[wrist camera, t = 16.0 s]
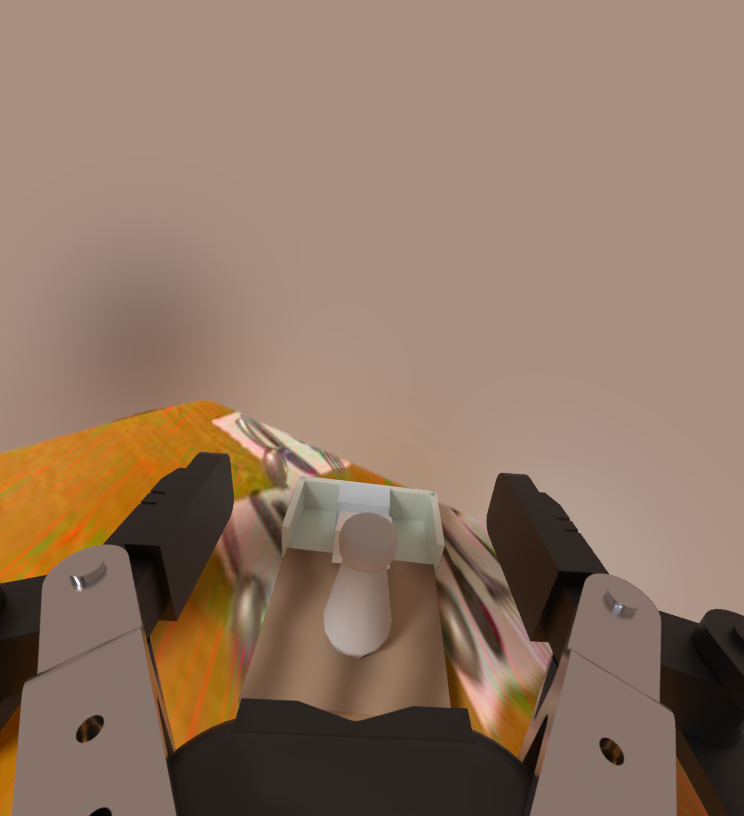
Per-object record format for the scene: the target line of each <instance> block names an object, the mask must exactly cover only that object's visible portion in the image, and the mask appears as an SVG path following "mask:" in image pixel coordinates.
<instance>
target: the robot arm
mask: <svg viewBox="0 0 744 816" xmlns="http://www.w3.org/2000/svg"><path fill="white" fill-rule="evenodd" d="M233 503H234V494H233V484H232V474H231V464H230V458H229V455H228V454H223V453H208V452H200V453H198V454H197V455H196V457H195V458H194V459H193V460H192V462H191V463H190V464H189V465H188V466H187V468H178V469H176V470H175V471H173V472H171V473H170V474H168V475H166V476H165V477H163V478H162V479H161V480H160V481H159V482H158V483H157V484H156V485H155V486H154V488H153V489H152V490H151V492H150V494H147V496H146V497H145V498H144V499H143V500H142V501H141V504H140V505H138V506H137V507H136V508H135V509H134V510H133V511H132V512H131V514H130V515H129V516H128V517H127V518H126V519H125V520H124V521H123V523H122V524H121V525H120V526H119V527H118V528H117V529H116V530H115V532H114V533H113V534H112V535H111V536H110V537H109V538H108V539H107V541H106V542H105V543H104V544H103V545H99V546H93V547H90V548H86V549H84V550H81V551H79V552H76V553H74V554H72V555H71V556H69V557H67V558H65V559H64V560H63V561H61V562H60V563H58V564H57V565H56V566H55V567H54V568H53V569H52V570H51V571H50V572H49V573H48V575H44V576H39V577H33V578H28V579H23V580H17V581H12V582H7V583H1V584H0V731H1V729H2V728H3V726H4V725H5V724H6V722H7V721H8V719H9V718H10V717H11V715H12V714H13V712H14V711H15V709H16V708H17V707H18V705H19V704H20V702H21V711H20V724H19V736H18V748H17V760H16V772H15V784H14V796H13V808H12V816H677V798H676V756H677V758H678V760H679V761H680V763H681V765H682V767H683V769H684V771H685V772H686V774H687V776H688V778H689V780H690V782H691V783H692V785H693V787H694V789H695V791H696V793H697V794H698V796H699V798H700V800H701V802H702V804H703V805H704V807H705V809H706V811H707V813H708V815H709V816H744V616H742V615H740V614H737V613H735V612H731V611H728V610H722V609H714V610H710V611H708V612H707V613H706V614H705V616H704V617H703V618H702V620H701V622H700V623H696V622H693V621H690V620H687V619H684V618H680V617H677V616H674V615H671V614H668V613H665V612H662V611H658V610H657V608H656V606H655V605H654V603H653V602H652V601H651V600H650V599H649V598H648V597H647V596H646V595H645V594H644V593H643V592H642V591H641V590H639V589H638V588H637V587H635V586H633V585H632V584H631V583H629V582H627V581H625V580H623V579H621V578H618V577H615V576H612V575H609V573H608V572H607V571H606V569H605V567H604V566H603V565H602V563H601V562H600V560H599V559H598V558H597V556H596V555H595V553H594V552H593V551H592V549H591V548H590V546H589V545H588V544H587V542H586V541H585V539H584V538H583V537H582V535H581V534H580V533H578V529H577V528H576V527H575V525H574V524H573V522H572V521H570V518H569V517H568V515H567V514H566V513H565V511H564V510H563V508H562V507H561V506H560V504H558V503H557V502H556V501H555V500H553V499H552V498H551V497H549V496H548V495H547V494H546V493H542V492H541V493H540V492H539V491H538V490H537V488H536V487H535V485H534V484H533V482H532V480H531V479H530V478H529V476H528V475H525V474H510V473H500V474H499V475H498V477H497V479H496V483H495V487H494V490H493V494H492V498H491V502H490V505H489V509H488V513H487V531H488V535H489V537H490V540H491V542H492V545H493V547H494V550H495V552H496V555H497V558H498V560H499V563H500V565H501V568H502V570H503V573H504V575H505V578H506V580H507V583H508V586H509V588H510V591H511V593H512V596H513V598H514V601H515V603H516V606H517V608H518V611H519V613H520V616H521V619H522V621H523V624H524V626H525V629H526V631H527V634H528V636H529V639H530V641H536V642H549V644H550V647H551V649H552V651H553V653H552V655H551V657H550V659H549V662H548V665H547V669H546V672H545V675H544V679H543V682H542V685H541V689H540V692H539V695H538V699H537V702H536V705H535V709H534V712H533V715H532V718H531V722H530V725H529V728H528V731H527V734H526V737H525V740H524V742H523V745H522V747H521V750H520V753H519V755H518V758H517V757H516V756H514V755H513V754H512V753H511V752H510V751H508V750H507V749H506V748H504V747H503V746H501V745H500V744H499V743H497V742H496V741H494V740H493V739H491V738H489V737H487V736H485V735H483V734H481V733H479V732H477V731H474V730H472V728H471V723H470V718H469V713H468V709H466V708H445V707H423V706H411V707H407V708H404V709H400V710H397V711H393V712H389V713H386V714H382V715H378V716H375V717H371V718H367V719H364V720H359V721H352V720H349V719H346V718H343V717H340V716H338V715H335V714H332V713H330V712H327V711H324V710H322V709H319V708H316V707H314V706H311V705H308V704H306V703H303V702H300V701H294V700H272V699H251V698H242V699H241V702H240V706H239V709H238V713H237V716H236V719H232V720H229V721H226V722H223V723H221V724H218V725H216V726H213V727H211V728H209V729H207V730H206V731H204V732H202V733H200V734H198V735H197V736H195V737H194V738H192V739H191V740H189V741H188V742H186V743H185V744H183V745H182V746H181V747H179V748H178V749H177V750H176V748H175V744H174V740H173V736H172V732H171V728H170V723H169V719H168V715H167V710H166V706H165V701H164V696H163V691H162V687H161V682H160V677H159V672H158V668H157V663H156V658H155V654H154V649H153V644H152V640H151V636H150V634H151V633H152V631H153V629H154V627H155V626H156V624H157V622H158V620H167V621H177V619H178V617H179V615H180V613H181V611H182V610H183V608H184V606H185V604H186V602H187V600H188V598H189V596H190V594H191V592H192V590H193V588H194V586H195V584H196V582H197V580H198V579H199V577H200V575H201V573H202V571H203V569H204V567H205V565H206V563H207V561H208V559H209V557H210V555H211V553H212V551H213V549H214V548H215V546H216V544H217V542H218V540H219V538H220V536H221V534H222V532H223V530H224V528H225V526H226V524H227V522H228V520H229V518H230V516H231V513H232V509H233Z"/></svg>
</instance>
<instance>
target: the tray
mask: <svg viewBox="0 0 744 816" xmlns="http://www.w3.org/2000/svg"><path fill="white" fill-rule="evenodd" d="M341 482H348V483H357V484H366V485H374V486H383V487H390V509H389V515H388V516H391V518H392V524H393V525H394V526H395V528H396V532H397V535H398V546H397V549H396V553H395V557H394V560H397V561H406V562H414V563H423V564H432V565H434V569H435V577H436V575H437V571H438V568H439V564H440V561H441V557H442V554H443V550H444V547H445V543H444V536H443V530H442V524H441V517H440V511H439V505H438V498H437V493H435V491H426V490H418V489H410V488H401V487H393V486H384V485H376V484H367V483H359V482H350V481H342V480H334V479H325V478H317V477H308V476H301V477H299V479H298V482H297V485H296V488H295V490H294V493H293V496H292V499H291V502H290V504H289V507H288V510H287V513H286V515H285V518H284V521H283V524H282V559H284V556H285V553H286V550H287V548H295V549H303V550H312V551H320V552H329V553H333V546H334V537H335V526H336V513H337V501H338V496H339V491H340V485H341Z"/></svg>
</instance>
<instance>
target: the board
mask: <svg viewBox="0 0 744 816" xmlns="http://www.w3.org/2000/svg"><path fill="white" fill-rule="evenodd" d="M332 555H333V553H329V552H320V551H312V550H303V549H295V548H287V550H286V553H285V556H284V559H283V562H282V565H281V569H280V572H279V575H278V578H277V581H276V584H275V587H274V590H273V594H272V597H271V600H270V603H269V606H268V609H267V612H266V616H265V619H264V622H263V625H262V628H261V631H260V634H259V637H258V641H257V644H256V647H255V650H254V653H253V656H252V659H251V662H250V666H249V669H248V672H247V675H246V678H245V681H244V684H243V688H242V691H241V694H240V697H239V706H240V702H241V699H242V698H251V699H272V700H294V701H300V702H303V703H306V704H308V705H311V706H314V707H316V708H319V709H322V710H324V711H327V712H330V713H332V714H335V715H338V716H340V717H343V718H346V719H349V720H352V721H359V720H364V719H367V718H371V717H375V716H378V715H382V714H386V713H389V712H393V711H397V710H400V709H404V708H407V707H411V706H423V707H445V708H451V705H450V697H449V688H448V680H447V671H446V663H445V654H444V646H443V637H442V629H441V620H440V612H439V603H438V595H437V586H436V578H435V569H434V565H432V564H423V563H414V562H406V561H397V560H393V561H392V562H391V563H390V569H387V577H388V587H389V597H390V608H391V618H392V623H391V627H390V631H389V636H388V638H387V640H386V641H385V642H384V643H383V644H382V645H381V646H380V647H379V648H378V650H377V651H375V652H372V653H370V654H367V655H364V656H363V657H361V658H360V659H355V658H352V657H350V656H347V655H344V654H342V653H339V652H337V651H336V649H335V648H334V647H333V645H332V644H331V642H330V640H329V638H328V637H327V635H326V633H325V629H324V614H323V613H324V610H325V607H326V604H327V601H328V599H329V596H330V593H331V590H332V587H333V585H334V582H335V579H336V576H337V573H338V571H339V568H340V565H341V564H340V563H332Z"/></svg>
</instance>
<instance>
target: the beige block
mask: <svg viewBox="0 0 744 816" xmlns="http://www.w3.org/2000/svg"><path fill="white" fill-rule="evenodd" d="M356 514H360V513H356V512H347V511H340V512H339V516H338V521H337V525H336V530H335V537H334V546H333V555H332V563H340V564H341V562H342V559H343V558H342V556H341V554H340V549H339V534H340V531H341V529H342V527H343V525H344V523H345V521H346V520H348V519H349V518H350V517H352V516H353V515H356ZM381 516H382V515H381ZM383 517H385V518H387V519H388V520H389V521H390V522H391V523H392V518H391V516H383ZM387 569H390V564H389V565H388V566H387Z"/></svg>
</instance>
